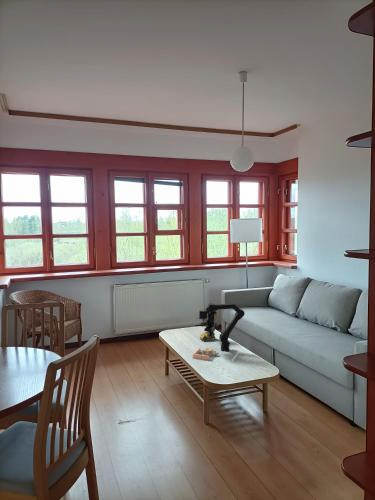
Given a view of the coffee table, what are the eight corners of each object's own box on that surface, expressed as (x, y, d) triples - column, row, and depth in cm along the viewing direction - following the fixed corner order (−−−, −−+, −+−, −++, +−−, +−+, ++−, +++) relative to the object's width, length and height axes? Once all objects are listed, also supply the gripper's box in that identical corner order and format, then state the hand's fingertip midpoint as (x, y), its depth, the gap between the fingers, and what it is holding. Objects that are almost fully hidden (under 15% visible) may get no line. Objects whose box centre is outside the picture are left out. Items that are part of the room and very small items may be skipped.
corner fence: (214, 354, 303) (214, 350, 303) (208, 360, 290) (208, 356, 289) (198, 351, 308) (198, 348, 308) (192, 358, 295) (192, 354, 294)
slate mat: (219, 353, 306) (219, 352, 306) (212, 362, 288) (212, 361, 288) (199, 350, 312) (199, 350, 312) (191, 358, 294) (191, 358, 294)
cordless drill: (193, 339, 340) (193, 313, 338) (213, 337, 347) (213, 311, 345) (196, 342, 332) (197, 315, 330) (217, 340, 339) (217, 313, 337)
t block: (216, 353, 304) (216, 348, 303) (213, 357, 296) (213, 352, 296) (206, 352, 307) (206, 347, 307) (203, 355, 300) (203, 350, 299)
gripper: (205, 314, 320) (205, 332, 321) (198, 320, 303) (198, 339, 304) (218, 316, 316) (217, 334, 317) (211, 322, 299) (211, 340, 300)
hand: (211, 336), depth 310 cm, fingers closed
